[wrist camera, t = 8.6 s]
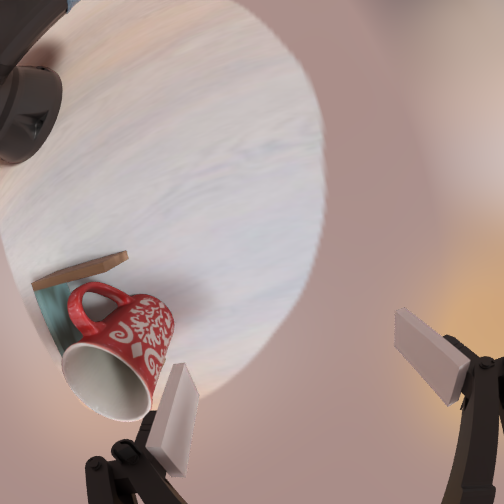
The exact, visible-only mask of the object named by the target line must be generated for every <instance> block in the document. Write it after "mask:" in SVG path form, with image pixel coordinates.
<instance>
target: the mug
mask: <svg viewBox="0 0 504 504" xmlns="http://www.w3.org/2000/svg"><path fill="white" fill-rule="evenodd" d="M85 292H93V293H97V294H100V295H103V296H105V297H107V298H110V299H111V300H113V301H114V302H116V303H117V305H118V307H117V309H115V310H114V311H113V312H112V313H111V314H109V315H108V316H107V317H106V318H105V319H103V320H102V321H98V322H94V321H92V320H91V319H89V318H88V316H87V315H86V313H85V312H84V309H83V306H82V298H83V295H84V293H85ZM67 308H68V313H69V316H70V319H71V321H72V322H73V324H74V325H75V326H76V328H77V329H78V330H79V331H80V332H81V333H82V335H83V338H82V339H81V340H79V341H78V342H77V343H74V344H72V345H71V346H69V347H68V348H67V349H66V350H65V352H64V354H63V357H62V371H63V374H64V377H65V379H66V382H67V383H68V385H69V387H70V388H71V390H72V391H73V392H74V394H75V395H76V396H77V397H78V398H79V399H80V400H81V401H82V402H83V403H84V404H85V405H86V406H88V407H89V408H91V409H92V410H93V411H95V412H97V413H98V414H100V415H103V416H105V417H107V418H110V419H113V420H116V421H122V422H133V421H138V420H141V419H143V418H144V416H145V415H146V414H147V413H148V412H149V411H150V410H151V408H152V400H153V399H152V396H153V393H154V390H155V386H156V383H157V380H158V377H159V374H160V371H161V368H162V365H163V362H164V359H165V356H166V352H167V349H168V346H169V344H170V341H171V338H172V335H173V332H174V319H173V317H172V314H171V312H170V310H169V309H168V308H167V306H166V305H165V304H164V303H163V302H161V301H160V300H159V299H157V298H155V297H153V296H150V295H146V294H138V295H134V296H129V295H127V294H126V293H124V292H122V291H120V290H119V289H117V288H114V287H112V286H110V285H107V284H104V283H101V282H88V283H85V284H83V285H81V286H80V287H78V288H76V289H75V290H74V291H73V292H72V293H71V294H70V296H69V299H68V302H67Z"/></svg>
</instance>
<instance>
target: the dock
mask: <svg viewBox="0 0 504 504" xmlns="http://www.w3.org/2000/svg"><path fill="white" fill-rule="evenodd" d="M127 259H129V258H128V255H127V251H123V252H119V253H116V254H112V255H109V256H105V257H102V258H99V259H95V260H92V261H88V262H85V263H82V264H78V265H75V266H72V267H69V268H65V269H62V270H59V271H56V272H54V273H52V274H50V275H48V276H46V277H44V278H42V279H39V280H37V281H35V282H33V283H31V284H32V287H33V290H34V293H35V296H36V299H37V301H38V304H39V307H40V309H41V312H42V314H43V317H44V319H45V322H46V324H47V326H48V329H49V331H50V333H51V335H52V338H53V340H54V342H55V344H56V346H57V348H58V350H59V352H60V354H61V356H62V357H63V354H64V352H65V350H66V349H67V348H68V347H69V346H71V345H72V344H74V343H77V342H78V341H79V340H81V339H82V338H83V335H82V333H81V332H80V331H79V330H78V329H77V328H76V326H75V325H74V324H73V322H72V321H71V319H70V316H69V313H68V308H67V302H68V299H69V296H70V291H69V288H68V285H67V282H70V281H74V280H78V279H81V278H85V277H89V276H93V275H96V274H100V273H104V272H107V271H108V270H110V269H112V268H113V267H115V266H117V265H119V264H120V263H122V262H124V261H125V260H127ZM165 360H166V359H164V362H163V365H164V363H165ZM163 365H162V367H163ZM161 369H162V368H161ZM160 372H161V371H160Z"/></svg>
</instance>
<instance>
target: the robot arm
mask: <svg viewBox="0 0 504 504" xmlns="http://www.w3.org/2000/svg"><path fill="white" fill-rule="evenodd" d="M79 1H80V0H0V158H1V159H2V160H4V161H6V162H11V163H20V162H23V161H26V160H27V159H29V158H30V157H32V156H33V155H34V154H35V153H36V152H37V151H38V150H39V149H40V147H41V146H42V145H43V143H44V142H45V140H46V139H47V137H48V136H49V134H50V132H51V130H52V128H53V126H54V124H55V121H56V119H57V116H58V113H59V110H60V106H61V101H62V82H61V79H60V77H59V75H58V74H57V73H56V72H55V71H53V70H51V69H49V68H47V67H43V66H37V67H34V66H16V65H17V64H18V62H19V61H20V60H21V59H22V58H23V56H24V55H25V54H26V53H27V52H28V51H29V49H30V48H31V47H32V46H33V45H34V44H35V43H36V42H37V41H38V40H39V39H40V38H41V37H42V36H43V35H44V34H45V33H46V32H47V31H48V30H49V29H50V28H51V27H52V26H53V25H54V24H55V23H56V22H57V21H58V20H59V19H60V18H61V17H63V16H64V15H65V14H67V13H69V12H70V10H71V8H72V7H73V6H74V5H75V4H77V3H78V2H79ZM394 341H395V342H394V347H395V348H396V349H397V350H398V351H399V352H400V353H401V354H402V355H403V356H404V358H405V359H406V360H407V361H408V362H409V363H410V364H411V365H412V366H413V367H414V369H415V370H416V371H417V372H418V373H419V374H420V375H421V376H422V378H423V379H424V380H425V381H426V382H427V383H428V384H429V386H430V387H431V388H432V389H433V390H434V391H435V392H436V394H437V395H438V396H439V397H440V398H441V399H442V401H443V402H444V403H445V404H446V405H447V407H448V406H450V405H452V404H453V403H455V402H456V401H458V400H459V397H460V394H461V392H462V393H463V394H464V395H465V397H464V400H463V403H462V405H461V408H460V410H462V418H461V425H460V432H459V437H458V443H457V448H456V453H455V457H454V462H453V466H452V470H451V473H450V477H449V481H448V484H447V487H446V491H445V494H444V497H443V500H442V503H441V504H493V502H494V498H495V492H496V488H495V486H493V485H492V482H493V476H494V470H495V462H496V455H497V445H498V431H499V416H500V419H501V423H502V428H503V433H504V357H501V358H498V359H496V360H494V359H493V358H491V357H487V356H484V357H478V356H477V355H476V354H475V353H474V352H472V351H471V350H470V349H469V348H467V347H466V346H464V345H463V344H462V343H460V341H458V340H457V339H456V338H455V337H452V336H449V335H445V336H443V337H442V336H441V335H440V334H438V333H437V332H436V331H434V330H433V329H432V328H431V327H429V326H428V325H427V324H426V323H424V322H423V321H422V320H421V319H419V318H418V317H417V316H416V315H414V314H413V313H412V312H410V311H409V310H408V309H407V308H405V307H404V308H401V309H399V310H396V311H395V340H394ZM199 396H200V395H199V393H198V391H197V388H196V386H195V384H194V382H193V380H192V377H191V375H190V373H189V371H188V368H187V366H186V364H185V363H179V364H173V367H172V370H171V372H170V375H169V378H168V381H167V384H166V387H165V389H164V392H163V395H162V398H161V401H160V404H159V407H158V410H157V411H149V412H148V413H147V414H146V415H145V416H144V418H143V421H142V423H141V426H140V429H139V432H138V434H137V437H136V440H135V442H133V441H132V440H129V439H123V440H120V441H118V442H116V443H115V444H114V445H113V446H112V449H111V453H112V456H113V457H114V458H115V459H116V460H114V461H106V460H105V459H104V458H103V457H101V456H94V457H92V458H90V459H89V460H88V461H87V462H86V465H85V473H86V486H87V496H88V503H89V504H138V502H137V499H136V495H135V493H138V495H139V496H140V497H141V499H142V501H143V502H144V504H187V503H186V501H185V500H184V499H183V498H182V497H181V496H180V495H179V494H178V492H177V491H176V490H175V489H174V488H173V487H172V485H171V484H170V483H169V481H168V480H167V479H166V478H165V476H166V472H167V473H168V474H169V475H170V476H171V477H186V473H187V466H188V460H189V454H190V448H191V442H192V436H193V430H194V424H195V418H196V413H197V407H198V401H199ZM462 408H463V409H462Z"/></svg>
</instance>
